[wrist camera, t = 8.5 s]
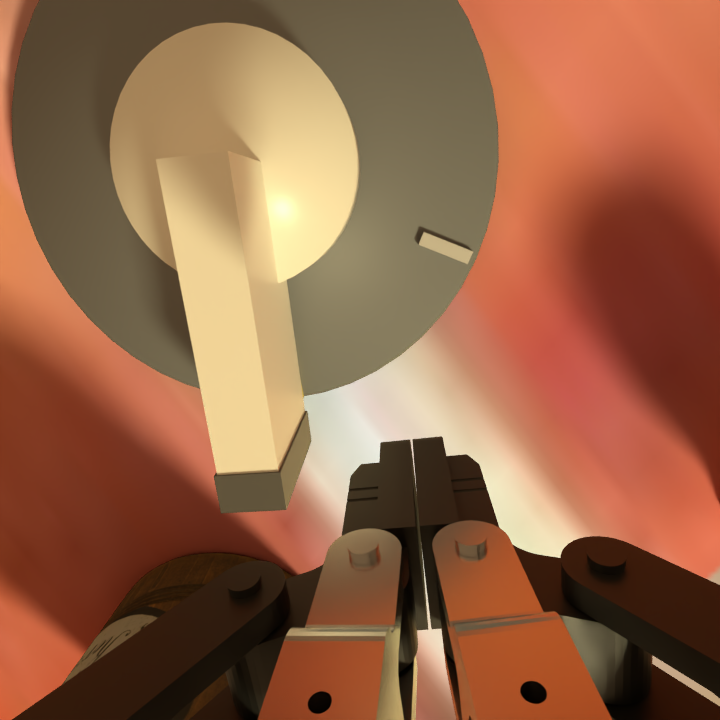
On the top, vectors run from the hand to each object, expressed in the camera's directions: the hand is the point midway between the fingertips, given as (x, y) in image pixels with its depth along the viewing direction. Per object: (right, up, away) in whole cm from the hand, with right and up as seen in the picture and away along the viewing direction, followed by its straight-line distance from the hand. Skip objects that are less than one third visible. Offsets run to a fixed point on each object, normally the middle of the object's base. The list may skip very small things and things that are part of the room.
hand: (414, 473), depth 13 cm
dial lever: (-6, +7, +12) cm, 15 cm away
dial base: (-6, +12, +12) cm, 18 cm away
